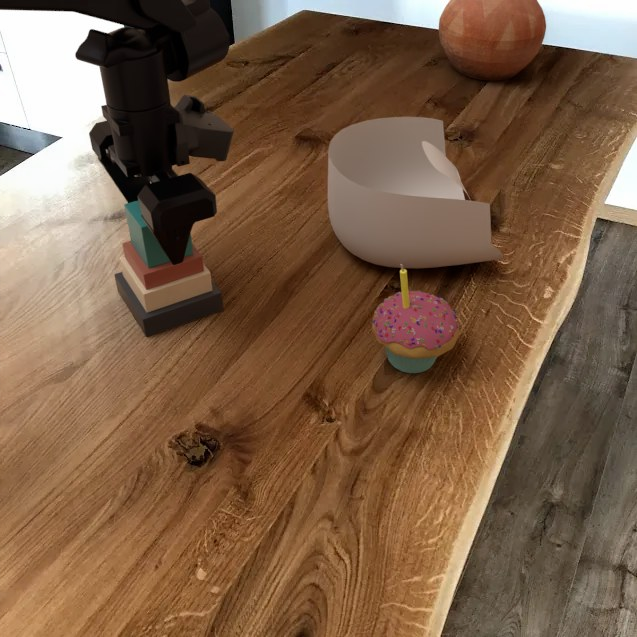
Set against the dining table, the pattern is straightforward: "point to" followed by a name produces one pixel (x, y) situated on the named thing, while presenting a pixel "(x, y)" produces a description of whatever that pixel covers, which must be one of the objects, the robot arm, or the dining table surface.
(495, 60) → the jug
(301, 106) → the dining table surface
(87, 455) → the dining table surface
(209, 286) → the stack
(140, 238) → the toy cube
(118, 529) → the dining table surface
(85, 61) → the robot arm
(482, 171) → the dining table surface
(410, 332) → the cupcake
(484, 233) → the bowl
